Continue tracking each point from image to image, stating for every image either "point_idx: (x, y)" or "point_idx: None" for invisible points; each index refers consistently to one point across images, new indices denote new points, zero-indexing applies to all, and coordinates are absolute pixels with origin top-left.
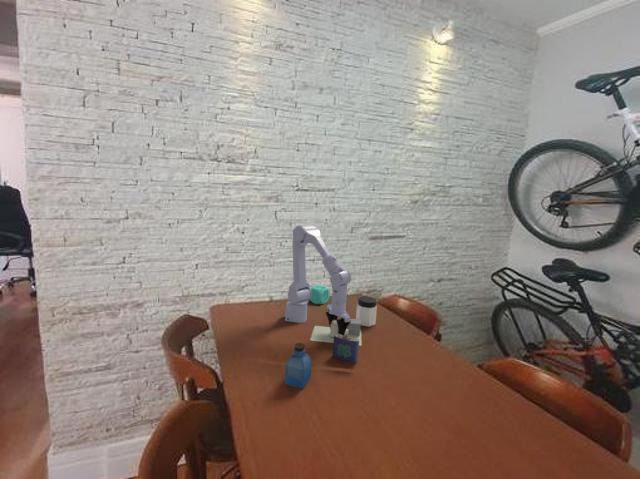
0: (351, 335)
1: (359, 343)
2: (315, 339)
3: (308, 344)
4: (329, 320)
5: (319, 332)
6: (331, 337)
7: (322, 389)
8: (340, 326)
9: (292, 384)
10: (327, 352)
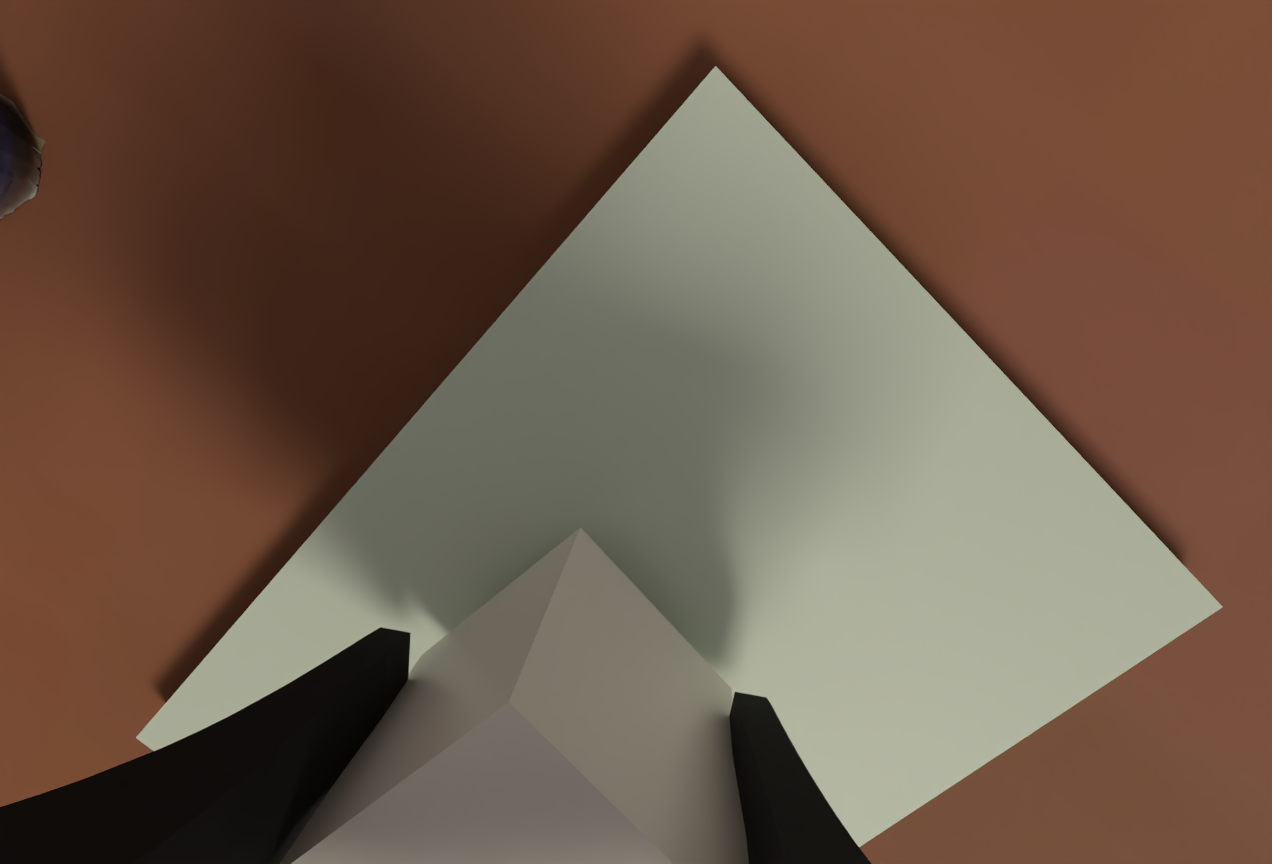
0: None
1: None
2: (686, 213)
3: (671, 5)
4: (796, 862)
5: (899, 492)
6: None
7: None
8: (75, 796)
9: None
10: (232, 164)
